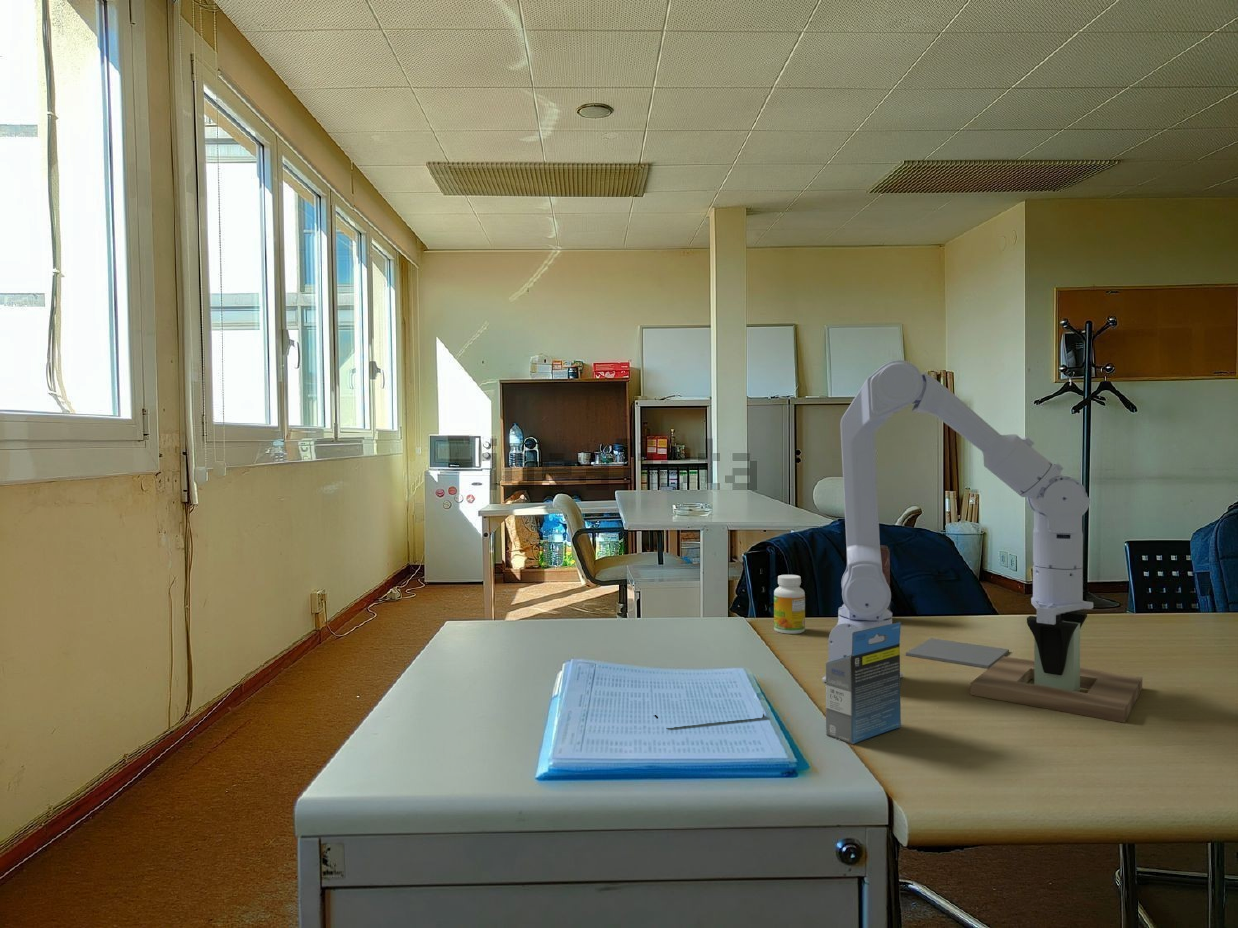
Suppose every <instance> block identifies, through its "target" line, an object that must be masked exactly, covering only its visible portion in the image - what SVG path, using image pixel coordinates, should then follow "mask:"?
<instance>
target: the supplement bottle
mask: <svg viewBox="0 0 1238 928" xmlns="http://www.w3.org/2000/svg"><path fill="white" fill-rule="evenodd" d="M801 583H802V579H801V576H800V575H797V574H781V575H778V576H777V584H778V587H776V588H775V589H774V590H773V629H774V631H775V632H777V633H780V634H786V635H787V634H789V635H797V634H801V633H804V632H805V630H806V595H805V594H806V593H805V590H804V589H803V588H802V587H800V586H801Z"/></svg>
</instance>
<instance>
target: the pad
mask: <svg viewBox="0 0 1238 928" xmlns="http://www.w3.org/2000/svg"><path fill="white" fill-rule="evenodd" d="M1009 652H1010V649H1009V648H1002V647H996V646H988V645H983V644H982V645H981V644H974V643H968V642H962V641H961V642H960V641H955V640H953V641H952V640H948V639H941V638H940V639H939V638H928V639H927V640H925V641H924V642H922V643H920V644H918V645H917V646H915V647H913V648H911V649H910V650H908V651H906V652H905V656H909V657H914V658H922V659H928V660H934V661H940V662H947V663H952V664H959V665H965V666H971V667H978V668H984V669H989V668H990V667H991V666H992V665H994V664H995V663H996V662H997V661H999V660H1000V659H1001V658H1002V657H1004V656H1005V657H1006V655H1008V653H1009Z"/></svg>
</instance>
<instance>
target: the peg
mask: <svg viewBox="0 0 1238 928" xmlns="http://www.w3.org/2000/svg"><path fill="white" fill-rule="evenodd" d="M1063 622H1067V623H1075V624H1078V626H1077V627H1076V629H1075V631H1074V633H1073V635H1072V637H1071V640H1070V643H1069V647H1068V652H1067V658H1066V664H1065V669H1064V672H1063V674H1062V675H1054V674H1048V673H1044V671H1043V668H1042V664H1041V659H1040V655H1039V650H1038V646H1037V643H1036V640H1035V638H1034V640H1033V641H1034V648H1033V649H1034V657H1033V658H1034V660H1033V661H1034V679H1033V680H1034V681H1033V682H1034V683H1033V684H1034V685H1040V686H1046V687H1052V688H1058V689H1064V690H1070V691H1076V692H1081V687H1080V668H1081V629H1080V623H1077V622H1068V621H1063Z"/></svg>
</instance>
